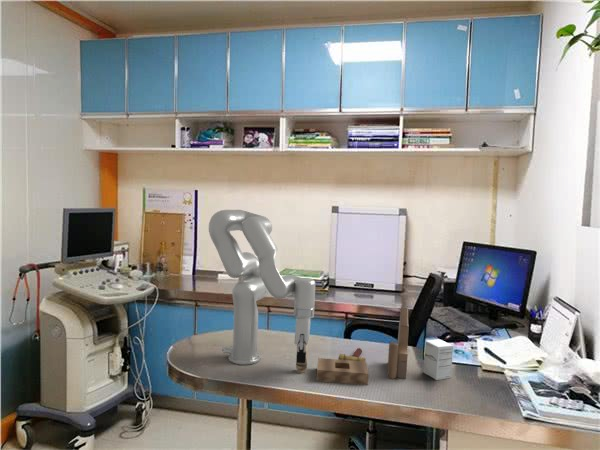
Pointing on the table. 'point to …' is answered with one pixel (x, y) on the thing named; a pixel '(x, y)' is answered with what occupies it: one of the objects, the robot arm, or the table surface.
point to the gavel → (353, 356)
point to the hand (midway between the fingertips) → (301, 357)
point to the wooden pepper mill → (302, 366)
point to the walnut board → (342, 371)
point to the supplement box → (438, 359)
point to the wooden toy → (399, 349)
